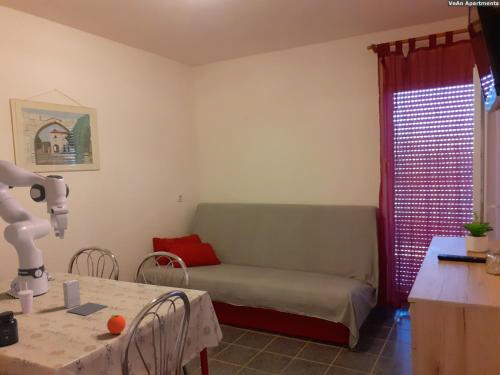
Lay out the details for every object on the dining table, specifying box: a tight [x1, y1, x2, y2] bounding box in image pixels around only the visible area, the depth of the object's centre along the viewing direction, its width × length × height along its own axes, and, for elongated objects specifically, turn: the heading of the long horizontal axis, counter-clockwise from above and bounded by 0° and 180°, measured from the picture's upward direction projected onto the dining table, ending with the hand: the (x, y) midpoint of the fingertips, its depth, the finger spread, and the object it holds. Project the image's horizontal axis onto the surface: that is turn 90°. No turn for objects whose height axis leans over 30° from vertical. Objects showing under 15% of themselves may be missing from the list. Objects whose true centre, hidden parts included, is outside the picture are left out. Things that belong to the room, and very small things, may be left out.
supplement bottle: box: [0, 310, 20, 348], centre depth 146 cm, size 7×7×12 cm
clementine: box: [106, 314, 127, 335], centre depth 152 cm, size 8×7×7 cm
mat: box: [66, 302, 108, 317], centre depth 180 cm, size 13×12×1 cm
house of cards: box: [44, 266, 53, 281], centre depth 236 cm, size 9×9×8 cm
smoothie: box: [18, 282, 34, 314], centre depth 179 cm, size 6×6×14 cm
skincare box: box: [62, 279, 82, 309], centre depth 185 cm, size 6×4×12 cm
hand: (59, 237), depth 187 cm, fingers open, 8 cm apart
